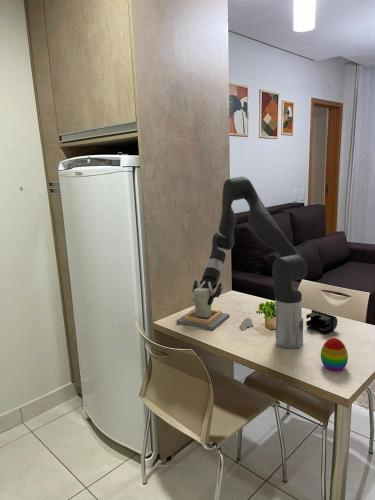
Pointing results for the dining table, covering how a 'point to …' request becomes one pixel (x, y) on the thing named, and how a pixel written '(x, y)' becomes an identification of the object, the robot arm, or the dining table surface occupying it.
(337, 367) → the decorative egg
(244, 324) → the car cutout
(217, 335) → the dining table surface
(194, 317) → the grey wood framed tray
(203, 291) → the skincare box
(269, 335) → the dining table surface
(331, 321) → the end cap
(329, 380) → the dining table surface
